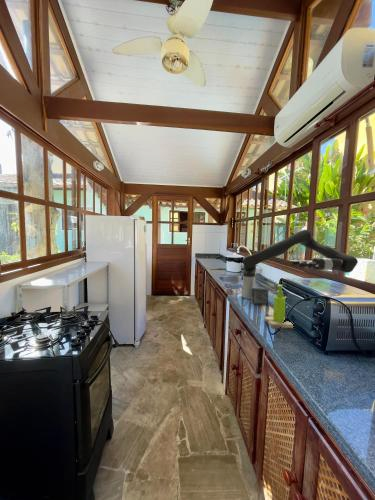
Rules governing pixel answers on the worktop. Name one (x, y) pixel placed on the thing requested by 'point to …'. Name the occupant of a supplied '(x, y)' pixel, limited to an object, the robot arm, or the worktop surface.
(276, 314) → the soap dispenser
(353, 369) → the worktop surface
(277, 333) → the worktop surface
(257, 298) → the small box
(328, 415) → the worktop surface
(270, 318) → the birch board
